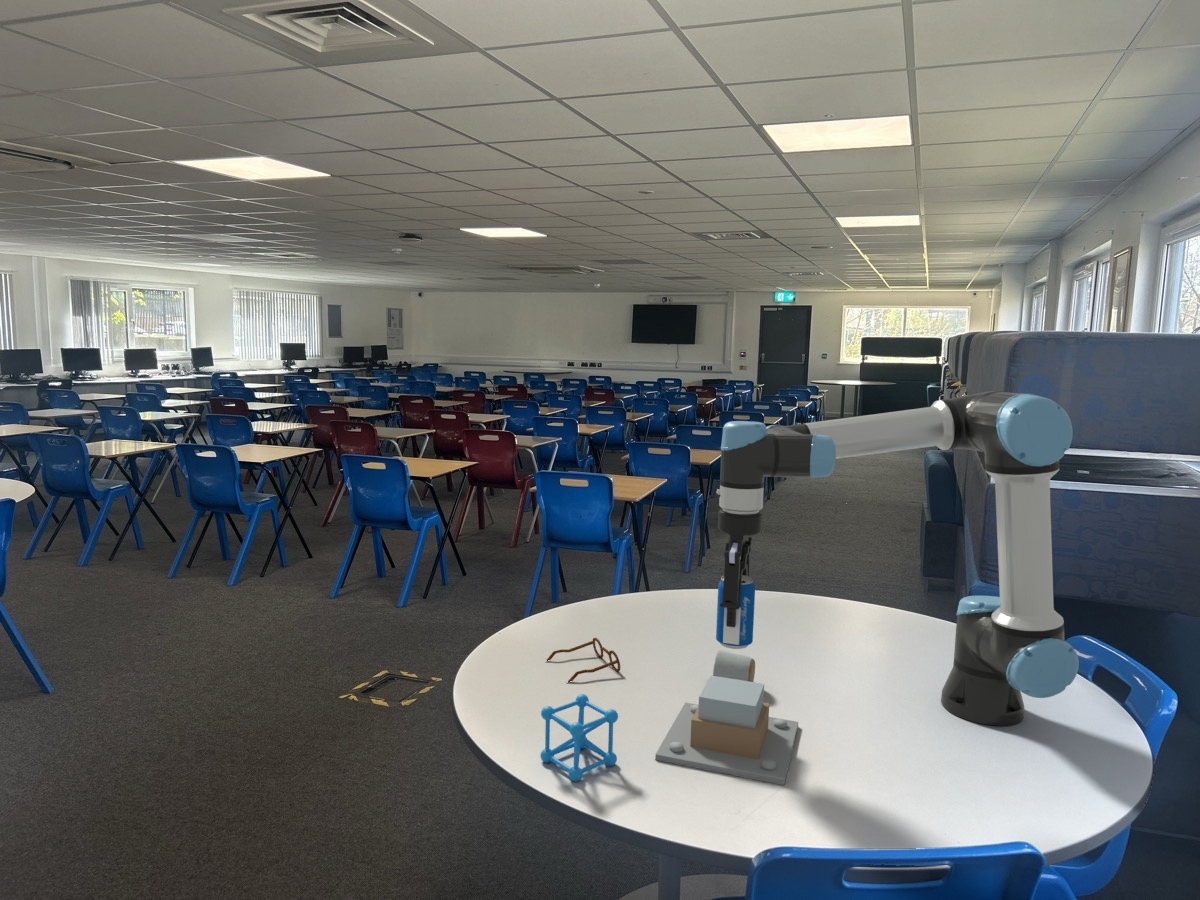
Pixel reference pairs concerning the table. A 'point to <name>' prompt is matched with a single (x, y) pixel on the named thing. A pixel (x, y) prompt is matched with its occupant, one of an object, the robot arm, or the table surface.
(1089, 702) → the table surface
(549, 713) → the molecular structure
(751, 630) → the beverage can
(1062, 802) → the table surface
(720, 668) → the ceramic mug
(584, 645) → the glasses
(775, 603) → the table surface
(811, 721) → the table surface
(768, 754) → the tower base
